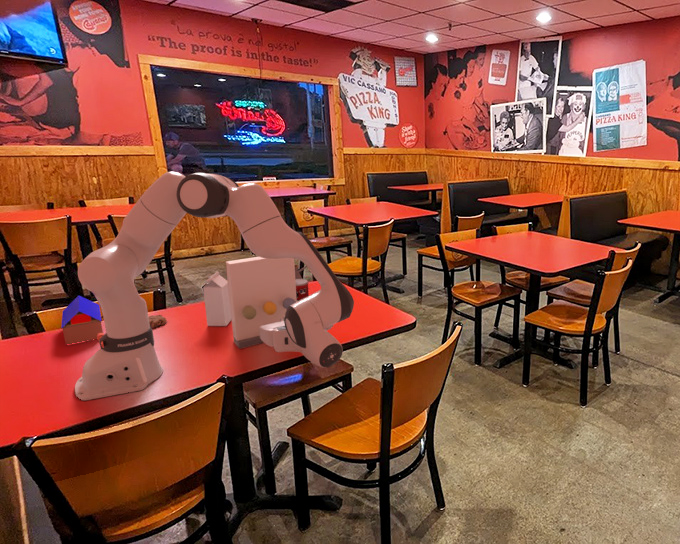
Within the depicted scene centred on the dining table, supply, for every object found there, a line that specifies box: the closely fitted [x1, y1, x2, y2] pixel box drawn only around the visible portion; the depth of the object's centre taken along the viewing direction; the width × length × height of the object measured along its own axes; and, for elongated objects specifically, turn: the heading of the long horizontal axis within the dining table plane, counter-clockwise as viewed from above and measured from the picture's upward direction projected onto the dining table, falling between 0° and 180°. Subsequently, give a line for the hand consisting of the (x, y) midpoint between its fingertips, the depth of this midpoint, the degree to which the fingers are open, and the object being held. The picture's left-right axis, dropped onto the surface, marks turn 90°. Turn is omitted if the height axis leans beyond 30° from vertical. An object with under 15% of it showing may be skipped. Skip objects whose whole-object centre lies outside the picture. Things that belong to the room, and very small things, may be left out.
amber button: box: [263, 301, 277, 315], centre depth 144 cm, size 4×3×4 cm, turn 120°
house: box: [60, 295, 104, 345], centre depth 158 cm, size 12×20×12 cm, turn 30°
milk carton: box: [202, 271, 232, 327], centre depth 162 cm, size 7×7×19 cm
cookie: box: [148, 314, 168, 329], centre depth 165 cm, size 10×11×3 cm
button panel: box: [225, 256, 297, 350], centre depth 147 cm, size 22×6×28 cm, turn 120°
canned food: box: [295, 278, 310, 302], centre depth 177 cm, size 8×8×11 cm
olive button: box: [242, 306, 256, 319], centre depth 141 cm, size 4×3×4 cm, turn 120°
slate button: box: [283, 297, 296, 309], centre depth 148 cm, size 4×3×4 cm, turn 120°
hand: (284, 319), depth 134 cm, fingers closed
